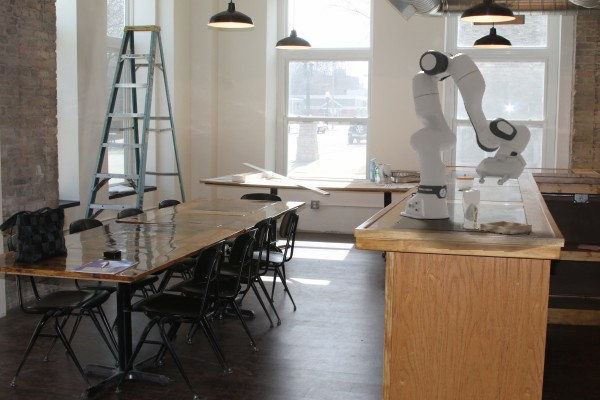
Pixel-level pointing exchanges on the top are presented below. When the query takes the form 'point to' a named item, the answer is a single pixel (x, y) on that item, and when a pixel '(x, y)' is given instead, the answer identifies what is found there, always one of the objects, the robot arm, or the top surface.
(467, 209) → the beer glass
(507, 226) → the oak tray
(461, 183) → the lidded jar
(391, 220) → the top surface
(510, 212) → the top surface
